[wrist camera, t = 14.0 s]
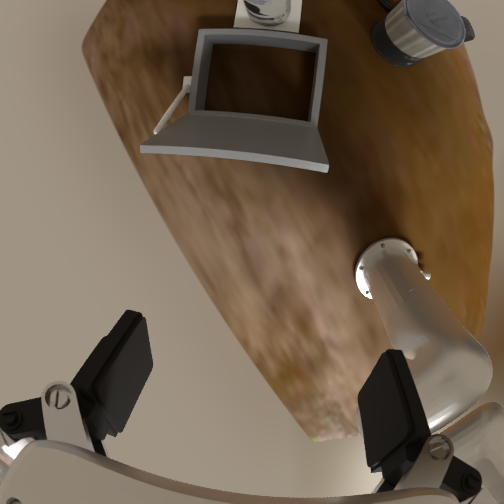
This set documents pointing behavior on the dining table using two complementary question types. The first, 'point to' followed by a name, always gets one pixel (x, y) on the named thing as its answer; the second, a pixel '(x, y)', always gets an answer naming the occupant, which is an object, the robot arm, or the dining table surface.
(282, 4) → the spray can
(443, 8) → the milk frother
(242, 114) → the case
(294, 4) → the pad
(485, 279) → the dining table surface
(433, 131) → the dining table surface
